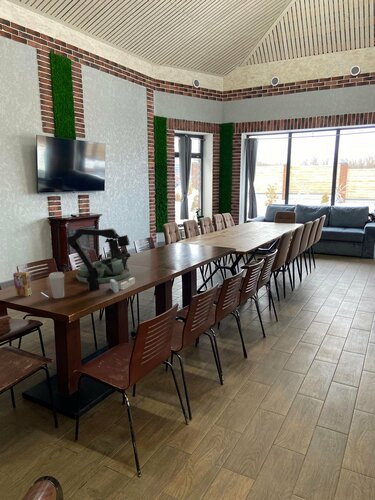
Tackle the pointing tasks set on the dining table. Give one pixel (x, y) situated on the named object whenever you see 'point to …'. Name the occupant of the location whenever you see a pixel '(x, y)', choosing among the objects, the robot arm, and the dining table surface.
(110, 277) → the tea set
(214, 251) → the dining table surface
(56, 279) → the coffee cup
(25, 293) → the candy box
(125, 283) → the slotted rib
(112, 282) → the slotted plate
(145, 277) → the dining table surface
